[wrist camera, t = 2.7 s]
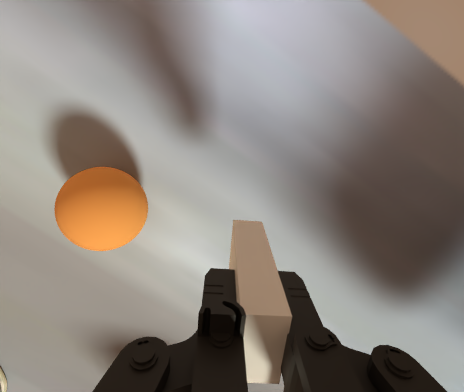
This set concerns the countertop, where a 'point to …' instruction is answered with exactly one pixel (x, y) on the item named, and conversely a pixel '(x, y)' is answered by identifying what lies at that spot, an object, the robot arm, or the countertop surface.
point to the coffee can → (2, 382)
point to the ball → (101, 208)
